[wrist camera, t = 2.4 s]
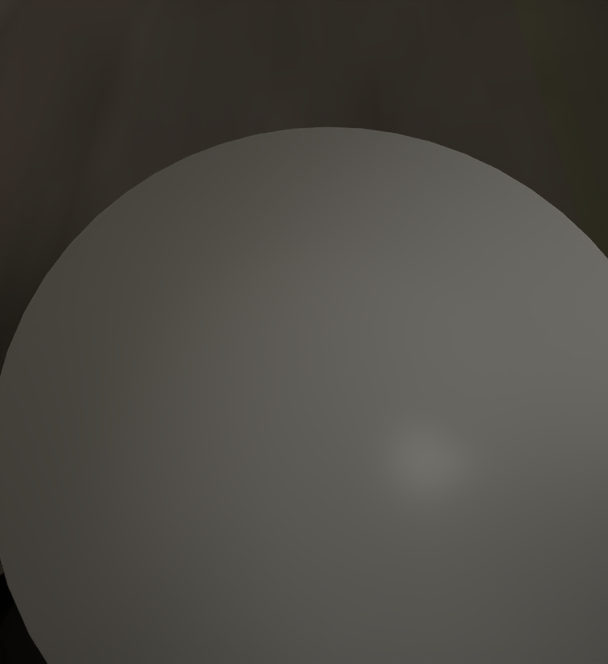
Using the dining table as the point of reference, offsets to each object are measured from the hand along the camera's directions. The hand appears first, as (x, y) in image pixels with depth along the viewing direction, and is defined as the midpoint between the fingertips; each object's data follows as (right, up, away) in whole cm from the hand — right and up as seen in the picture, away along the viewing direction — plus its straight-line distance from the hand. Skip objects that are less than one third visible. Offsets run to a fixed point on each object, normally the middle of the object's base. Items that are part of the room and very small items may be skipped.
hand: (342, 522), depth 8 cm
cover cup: (0, -2, +9) cm, 9 cm away
